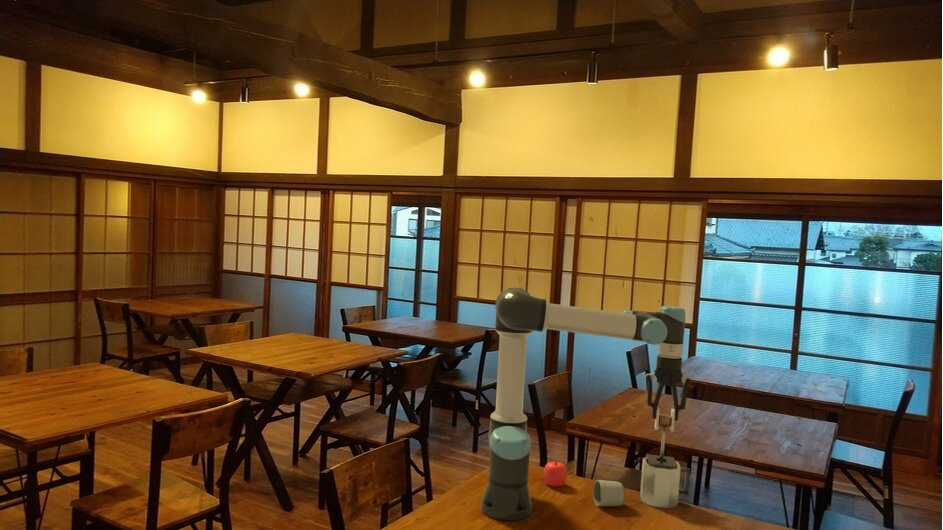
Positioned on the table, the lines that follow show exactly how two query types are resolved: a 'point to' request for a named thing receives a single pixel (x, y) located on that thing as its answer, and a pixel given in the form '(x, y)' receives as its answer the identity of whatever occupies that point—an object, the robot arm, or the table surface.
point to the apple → (555, 474)
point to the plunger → (665, 422)
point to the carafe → (662, 481)
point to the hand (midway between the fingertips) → (664, 429)
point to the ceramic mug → (608, 493)
